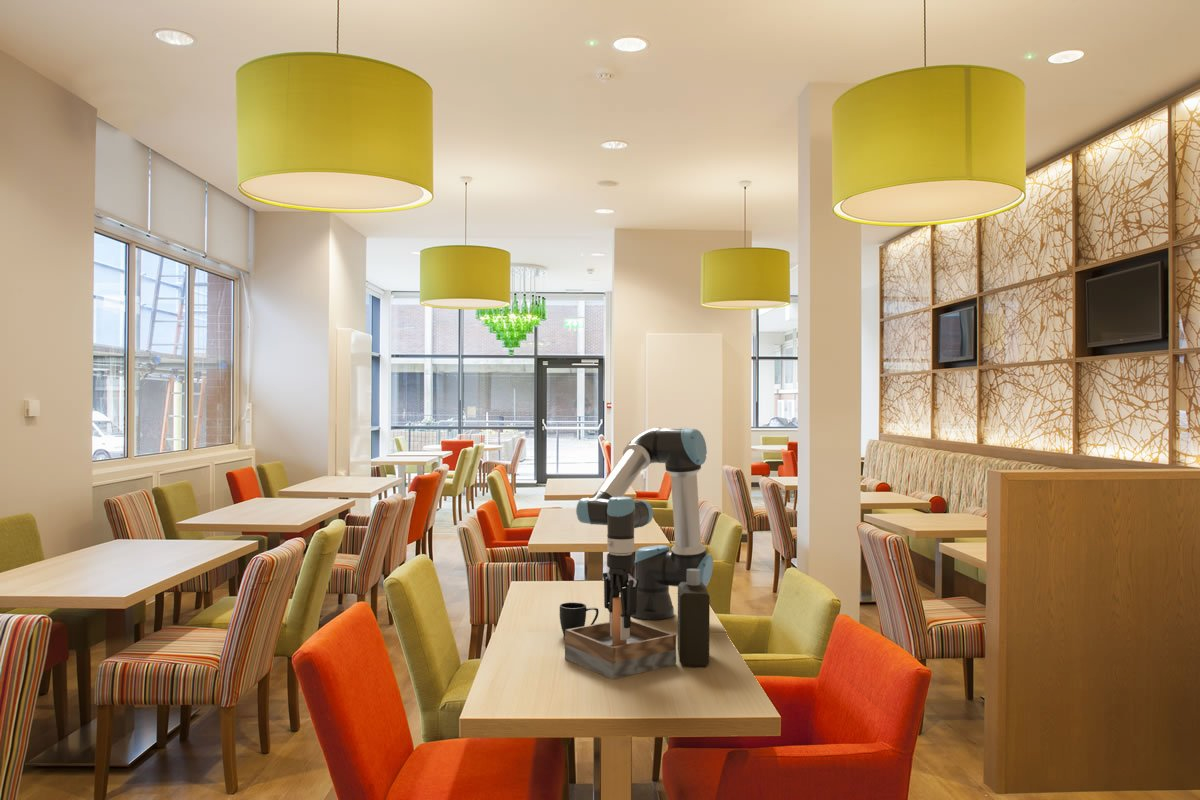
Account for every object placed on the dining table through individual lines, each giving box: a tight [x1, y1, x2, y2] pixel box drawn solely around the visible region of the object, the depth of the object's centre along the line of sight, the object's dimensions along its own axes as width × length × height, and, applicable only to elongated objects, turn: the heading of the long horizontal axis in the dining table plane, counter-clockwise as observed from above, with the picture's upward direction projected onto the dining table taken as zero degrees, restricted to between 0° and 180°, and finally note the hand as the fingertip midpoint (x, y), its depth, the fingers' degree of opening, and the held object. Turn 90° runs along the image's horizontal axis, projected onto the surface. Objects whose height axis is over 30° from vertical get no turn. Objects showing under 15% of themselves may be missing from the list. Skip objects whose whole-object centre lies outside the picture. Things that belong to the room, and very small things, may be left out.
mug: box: [559, 601, 600, 638], centre depth 253 cm, size 8×12×10 cm
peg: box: [612, 596, 627, 647], centre depth 229 cm, size 4×4×14 cm
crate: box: [564, 619, 677, 680], centre depth 229 cm, size 22×22×8 cm
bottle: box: [677, 568, 711, 668], centre depth 232 cm, size 8×16×25 cm, turn 177°
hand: (619, 637), depth 229 cm, fingers closed on peg, 4 cm apart
